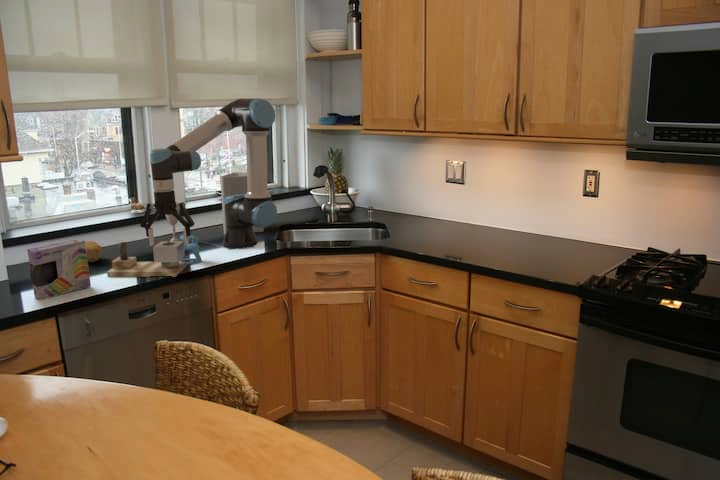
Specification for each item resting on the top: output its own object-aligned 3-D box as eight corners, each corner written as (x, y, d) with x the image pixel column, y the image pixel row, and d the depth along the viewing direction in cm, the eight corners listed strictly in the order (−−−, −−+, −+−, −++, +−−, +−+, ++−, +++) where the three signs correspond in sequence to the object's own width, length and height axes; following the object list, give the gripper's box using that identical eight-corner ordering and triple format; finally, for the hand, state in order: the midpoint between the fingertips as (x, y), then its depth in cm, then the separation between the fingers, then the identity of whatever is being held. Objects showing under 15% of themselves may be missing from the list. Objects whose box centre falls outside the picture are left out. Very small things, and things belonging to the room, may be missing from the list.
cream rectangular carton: (256, 225, 323) (254, 171, 317) (264, 231, 310) (261, 175, 303) (219, 229, 316) (216, 173, 309) (225, 235, 303) (221, 177, 296)
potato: (78, 267, 250) (75, 248, 248) (78, 259, 263) (76, 240, 261) (104, 264, 254) (102, 245, 252) (103, 256, 267) (101, 238, 265)
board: (186, 266, 250) (184, 237, 247) (175, 276, 237) (172, 246, 234) (122, 266, 251) (119, 237, 248) (107, 276, 238) (104, 246, 235)
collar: (184, 256, 247) (183, 241, 245) (177, 262, 238) (176, 247, 236) (162, 256, 247) (161, 241, 245) (154, 262, 238) (152, 247, 237)
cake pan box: (36, 301, 211) (29, 250, 207) (30, 298, 214) (23, 248, 210) (92, 287, 225) (86, 240, 221) (85, 285, 228) (80, 237, 224)
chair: (203, 263, 255) (201, 234, 252) (183, 266, 251) (181, 237, 248) (197, 258, 261) (195, 230, 259) (178, 261, 257) (175, 233, 254)
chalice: (170, 246, 283) (167, 206, 279) (164, 243, 288) (160, 204, 284) (185, 243, 288) (182, 204, 283) (179, 240, 293) (176, 202, 288)
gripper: (127, 192, 233) (133, 247, 238) (193, 191, 232) (198, 246, 237) (135, 189, 240) (141, 242, 245) (199, 188, 239) (204, 241, 244)
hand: (169, 244), depth 241 cm, fingers open, 13 cm apart
